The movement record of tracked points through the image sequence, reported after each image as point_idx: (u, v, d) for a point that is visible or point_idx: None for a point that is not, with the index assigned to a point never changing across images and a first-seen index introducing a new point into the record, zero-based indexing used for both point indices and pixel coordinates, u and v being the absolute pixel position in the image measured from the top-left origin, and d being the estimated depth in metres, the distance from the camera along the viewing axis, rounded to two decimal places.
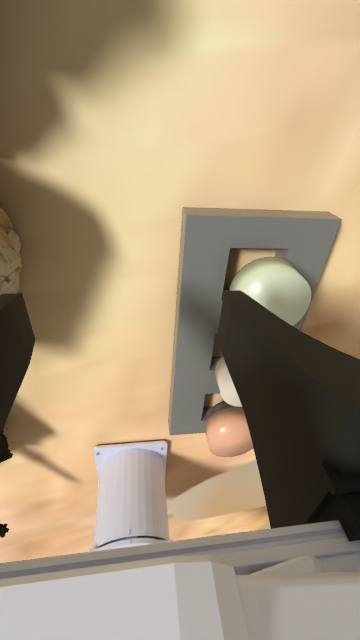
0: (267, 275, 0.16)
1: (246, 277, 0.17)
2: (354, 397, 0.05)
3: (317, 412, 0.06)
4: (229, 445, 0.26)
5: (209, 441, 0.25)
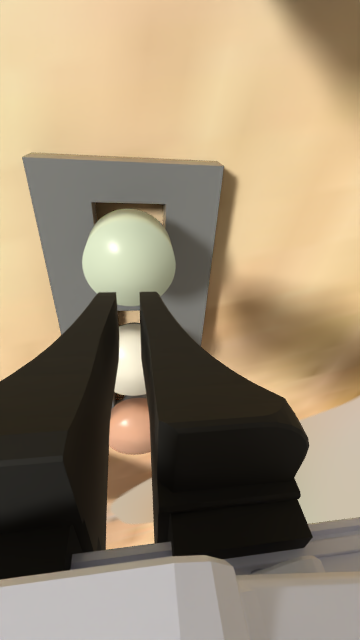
0: (106, 226, 0.13)
1: (92, 232, 0.14)
2: (169, 410, 0.05)
3: (155, 424, 0.05)
4: (133, 441, 0.23)
5: None
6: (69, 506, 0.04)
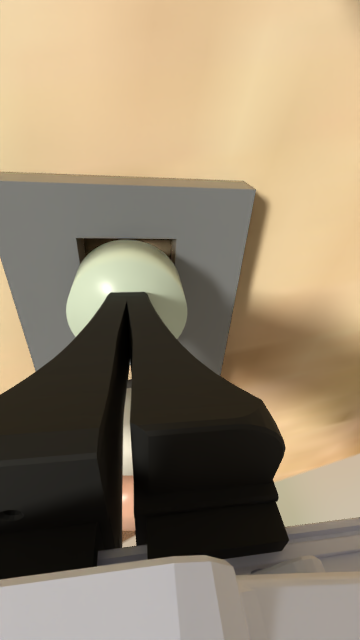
0: (97, 268, 0.10)
1: (79, 271, 0.11)
2: (143, 411, 0.04)
3: None
4: (132, 518, 0.18)
5: None
6: (98, 503, 0.04)
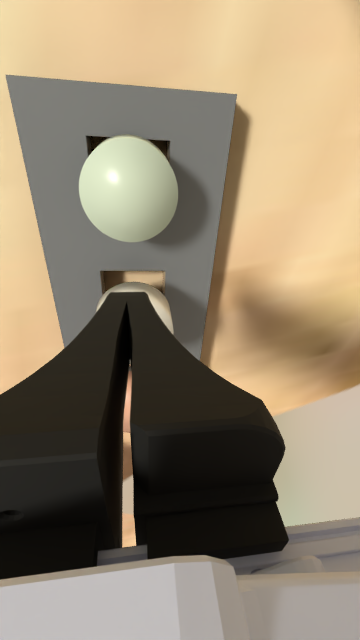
0: (105, 143, 0.12)
1: None
2: (143, 411, 0.04)
3: None
4: None
5: None
6: (97, 503, 0.04)
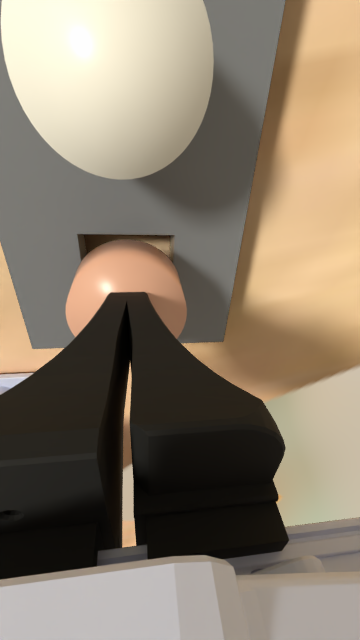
0: None
1: None
2: (143, 411, 0.04)
3: None
4: None
5: None
6: (97, 503, 0.04)
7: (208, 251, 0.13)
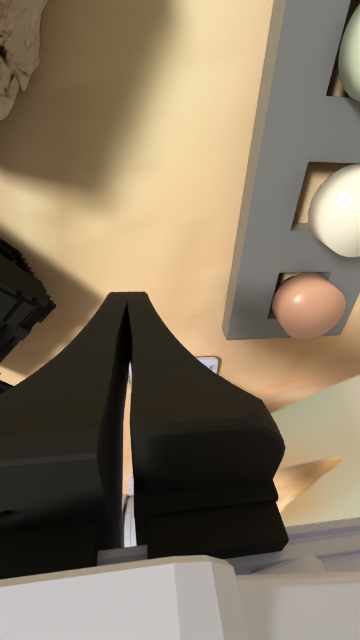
0: None
1: None
2: (143, 411, 0.04)
3: None
4: (308, 319, 0.21)
5: (284, 311, 0.20)
6: (97, 503, 0.04)
7: (347, 280, 0.22)
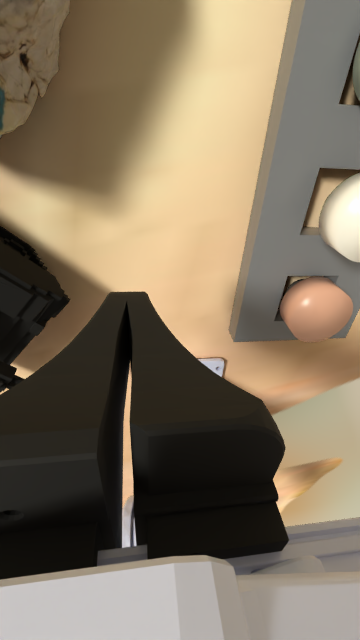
0: None
1: None
2: (142, 411, 0.04)
3: None
4: (315, 322, 0.21)
5: (292, 314, 0.20)
6: (97, 503, 0.04)
7: (354, 284, 0.23)
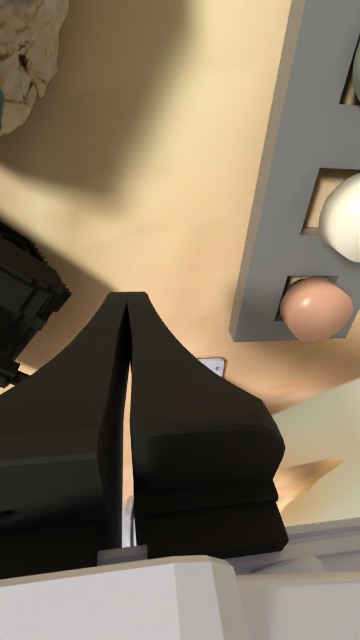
0: None
1: None
2: (142, 411, 0.04)
3: None
4: (315, 322, 0.21)
5: (292, 314, 0.20)
6: (97, 503, 0.04)
7: (354, 284, 0.23)
